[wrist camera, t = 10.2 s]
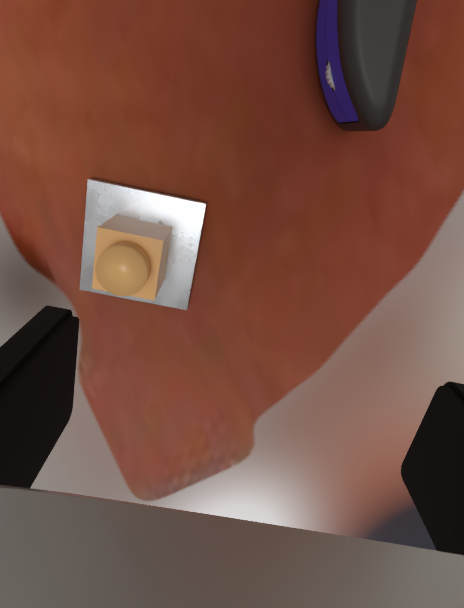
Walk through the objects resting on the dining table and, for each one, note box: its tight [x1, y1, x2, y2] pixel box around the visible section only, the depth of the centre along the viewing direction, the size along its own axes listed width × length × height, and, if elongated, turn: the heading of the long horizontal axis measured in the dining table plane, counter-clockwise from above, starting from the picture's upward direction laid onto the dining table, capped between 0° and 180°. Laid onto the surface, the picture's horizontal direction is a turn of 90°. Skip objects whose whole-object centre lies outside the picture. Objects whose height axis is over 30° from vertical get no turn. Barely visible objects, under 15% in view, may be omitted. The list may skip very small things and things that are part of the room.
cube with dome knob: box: [92, 215, 172, 301], centre depth 34 cm, size 5×5×7 cm
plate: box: [80, 178, 207, 310], centre depth 36 cm, size 10×10×4 cm
